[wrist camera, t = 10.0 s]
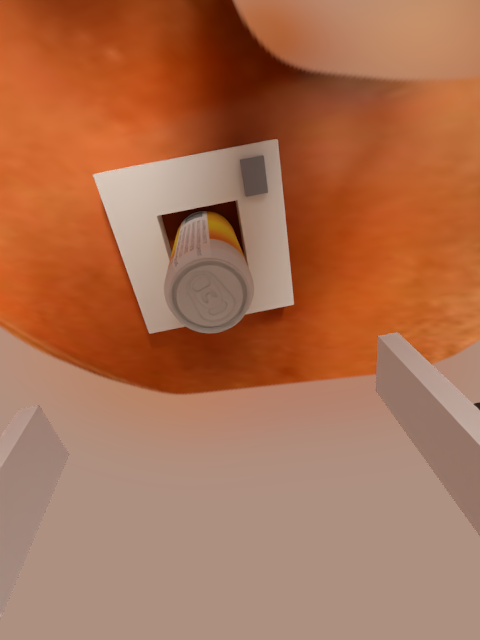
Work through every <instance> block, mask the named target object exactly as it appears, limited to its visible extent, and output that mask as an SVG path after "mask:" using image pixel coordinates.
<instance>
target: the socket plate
mask: <svg viewBox="0 0 480 640" xmlns="http://www.w3.org/2000/svg"><path fill="white" fill-rule="evenodd" d="M93 176H94V179H95V182H96V185H97V188H98V191H99V193H100V196H101V199H102V202H103V205H104V208H105V210H106V213H107V216H108V219H109V222H110V225H111V227H112V230H113V233H114V236H115V239H116V242H117V244H118V247H119V250H120V253H121V256H122V258H123V261H124V264H125V267H126V270H127V273H128V275H129V278H130V281H131V284H132V287H133V290H134V292H135V295H136V298H137V301H138V304H139V307H140V309H141V312H142V315H143V318H144V321H145V323H146V326H147V329H148V332H149V334H151V333H156V332H161V331H166V330H171V329H176V328H181V327H186V326H184V325H183V324H182V323H181V322H180V321H179V320H178V319H177V318H176V317H175V316H174V315H173V313H172V312H171V311H170V309H169V307H168V305H167V303H166V300H165V295H164V283H165V278H166V274H167V270H168V266H169V262H170V258H171V254H172V251H171V248H170V244H169V241H168V237H167V233H166V230H165V226H164V222H163V219H162V215H164V214H169V213H174V212H180V211H185V210H190V209H195V208H200V207H205V206H210V205H215V204H220V203H225V202H231V201H235V202H236V208H237V214H238V220H239V226H240V232H241V238H242V244H243V250H244V256H245V260H246V262H247V265H248V267H249V270H250V272H251V275H252V278H253V282H254V295H253V300H252V303H251V305H250V307H249V309H248V310H247V312H246V314H250V313H255V312H260V311H265V310H270V309H275V308H280V307H285V306H290V305H294V298H293V288H292V278H291V268H290V257H289V247H288V237H287V227H286V217H285V207H284V197H283V187H282V176H281V166H280V156H279V146H278V139H272V140H266V141H261V142H256V143H251V144H245V145H240V146H235V147H230V148H225V149H219V150H214V151H209V152H204V153H199V154H194V155H188V156H183V157H178V158H173V159H168V160H162V161H157V162H152V163H147V164H142V165H137V166H131V167H126V168H121V169H116V170H111V171H105V172H101V173H97V174H94V175H93Z"/></svg>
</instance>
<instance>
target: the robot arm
mask: <svg viewBox="0 0 480 640" xmlns="http://www.w3.org/2000/svg"><path fill="white" fill-rule="evenodd" d="M376 376H377V377H376V392H377V393H378V394H379V396H380V397H381V399H382V400H383V401H384V403H385V404H386V406H387V407H388V408H389V410H390V411H391V413H392V414H393V415H394V417H395V418H396V420H397V421H398V422H399V424H400V425H401V427H402V428H403V429H404V431H405V432H406V433H407V435H408V436H409V438H410V439H411V440H412V442H413V443H414V445H415V446H416V447H417V449H418V450H419V452H420V453H421V455H422V456H423V457H424V459H425V460H426V461H427V463H428V464H429V466H430V467H431V468H432V470H433V471H434V473H435V474H436V475H437V477H438V478H439V480H440V481H441V482H442V483H443V485H444V487H445V488H446V489H447V491H448V492H449V494H450V495H451V496H452V498H453V499H454V501H455V502H456V503H457V505H458V506H459V508H460V509H461V510H462V512H463V513H464V514H465V516H466V517H467V519H468V520H469V522H470V523H471V524H472V526H473V527H474V528H475V530H476V531H477V533H478V534H479V535H480V403H475V404H473V403H472V402H470V401H469V400H468V399H467V398H466V397H465V396H464V395H463V394H462V393H461V392H460V391H459V390H458V389H457V388H456V387H455V386H454V385H453V384H452V383H451V382H449V381H448V380H447V379H446V378H445V377H444V376H443V375H442V374H441V373H440V372H439V371H438V370H437V369H436V368H435V367H434V366H433V365H432V364H431V363H429V362H428V361H427V360H426V359H425V358H424V357H423V356H422V355H421V354H420V353H419V352H418V351H417V350H416V349H415V348H414V347H413V346H412V345H411V344H409V343H408V342H407V341H406V340H405V339H404V338H403V337H402V336H401V335H400V334H399V333H398V332H396V333H391V334H386V335H381V336H378V351H377V374H376ZM68 456H69V453H68V451H67V450H66V448H65V446H64V445H63V443H62V442H61V440H60V438H59V437H58V435H57V434H56V432H55V430H54V429H53V427H52V425H51V424H50V422H49V421H48V419H47V418H46V416H45V414H44V413H43V411H42V409H41V408H40V406H33V407H28V408H23V409H19V410H18V411H17V413H16V414H15V416H14V417H13V419H12V420H11V422H10V423H9V425H8V426H7V428H6V429H5V431H4V432H3V434H2V435H1V437H0V619H1V616H2V614H3V612H4V609H5V607H6V605H7V602H8V600H9V597H10V595H11V592H12V590H13V588H14V585H15V583H16V580H17V578H18V576H19V573H20V571H21V569H22V566H23V564H24V561H25V559H26V557H27V554H28V552H29V549H30V547H31V545H32V542H33V540H34V537H35V535H36V533H37V530H38V528H39V525H40V523H41V521H42V518H43V516H44V513H45V511H46V508H47V506H48V504H49V501H50V499H51V496H52V494H53V492H54V490H55V487H56V485H57V482H58V480H59V478H60V475H61V472H62V470H63V468H64V465H65V463H66V461H67V458H68Z"/></svg>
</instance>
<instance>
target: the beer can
mask: <svg viewBox="0 0 480 640" xmlns="http://www.w3.org/2000/svg"><path fill="white" fill-rule="evenodd" d="M164 295H165V300H166V303H167V305H168V307H169V309H170V311H171V312H172V313H173V315H174V316H175V317H176V318H177V319H178V320H179V321H180V322H181V323H182V324H183V325H184V326H186V327H187V328H189V329H191V330H194V331H196V332H200V333H219V332H222V331H225V330H228V329H230V328H232V327H233V326H235V325H236V324H237V323H238V322H239V321H240V320H241V319H242V318H243V317H244V315H245V314H246V312H247V310H248V309H249V307H250V305H251V303H252V300H253V295H254V282H253V278H252V275H251V272H250V270H249V267H248V265H247V262H246V260H245V257H244V255H243V252H242V250H241V247H240V245H239V242H238V240H237V237H236V235H235V232H234V230H233V228H232V226H231V224H230V223H229V222H228V221H227V220H226V219H225V218H224V217H223V216H221V215H220V214H218V213H215V212H211V211H199V212H195V213H193V214H191V215H189V216H188V217H187V218H185V219H184V220H183V222H182V223H181V224H180V226H179V228H178V231H177V234H176V238H175V242H174V246H173V250H172V254H171V258H170V262H169V266H168V270H167V274H166V278H165V283H164Z"/></svg>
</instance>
